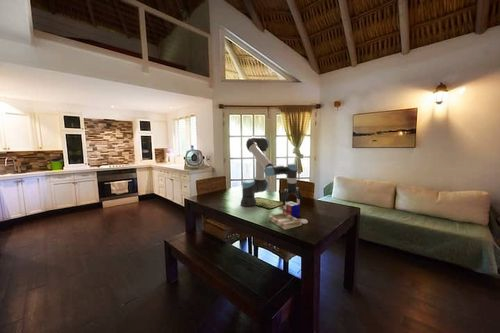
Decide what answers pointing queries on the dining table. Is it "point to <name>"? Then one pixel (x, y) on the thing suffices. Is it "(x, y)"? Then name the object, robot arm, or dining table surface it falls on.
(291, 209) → the puzzle cube
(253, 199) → the robot arm
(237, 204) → the dining table surface
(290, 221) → the light wood tray
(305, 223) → the white round disc
